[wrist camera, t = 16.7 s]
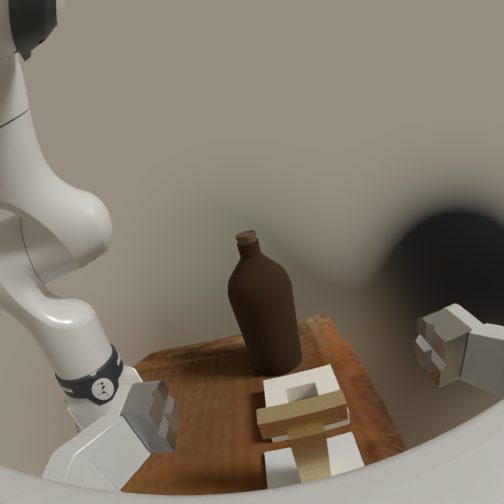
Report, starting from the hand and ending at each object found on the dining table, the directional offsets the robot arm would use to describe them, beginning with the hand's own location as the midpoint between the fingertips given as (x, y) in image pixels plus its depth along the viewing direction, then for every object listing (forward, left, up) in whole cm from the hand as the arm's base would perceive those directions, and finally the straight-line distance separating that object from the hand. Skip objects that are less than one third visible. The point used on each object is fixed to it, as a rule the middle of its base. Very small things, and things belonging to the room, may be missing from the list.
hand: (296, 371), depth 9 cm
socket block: (-18, +19, -30) cm, 39 cm away
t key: (-9, +9, -29) cm, 32 cm away
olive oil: (-29, +27, -30) cm, 50 cm away
